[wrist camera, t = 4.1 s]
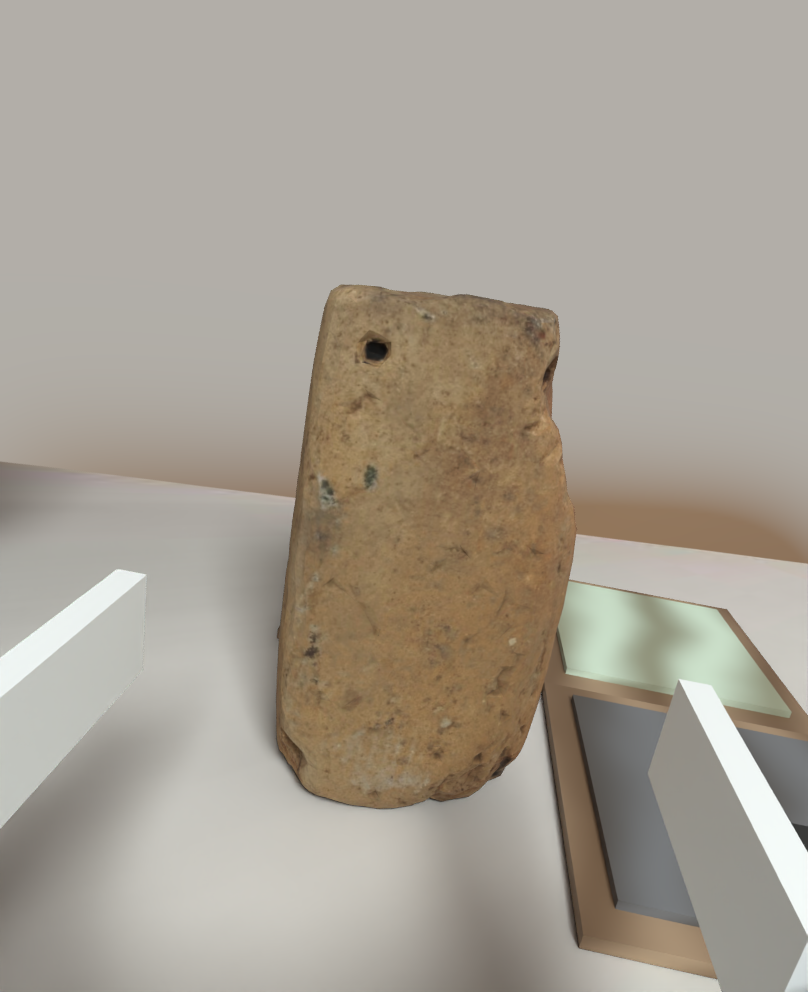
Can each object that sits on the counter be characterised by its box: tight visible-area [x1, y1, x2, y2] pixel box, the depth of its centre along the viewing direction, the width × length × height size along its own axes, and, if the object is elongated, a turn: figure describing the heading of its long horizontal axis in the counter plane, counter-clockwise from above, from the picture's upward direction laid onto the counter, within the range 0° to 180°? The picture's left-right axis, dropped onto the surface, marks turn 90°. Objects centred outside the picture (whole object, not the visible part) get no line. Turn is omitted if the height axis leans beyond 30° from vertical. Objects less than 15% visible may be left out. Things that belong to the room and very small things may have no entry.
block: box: [276, 285, 577, 809], centre depth 27 cm, size 11×8×20 cm
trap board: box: [277, 580, 808, 979], centre depth 36 cm, size 30×30×1 cm
